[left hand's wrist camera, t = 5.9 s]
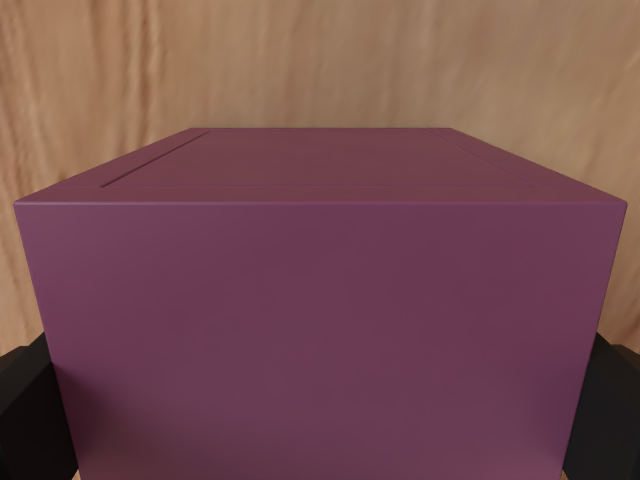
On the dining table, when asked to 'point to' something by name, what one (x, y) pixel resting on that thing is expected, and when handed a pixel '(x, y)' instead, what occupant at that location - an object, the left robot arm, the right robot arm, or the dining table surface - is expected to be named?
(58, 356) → the cabinet
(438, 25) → the dining table surface
